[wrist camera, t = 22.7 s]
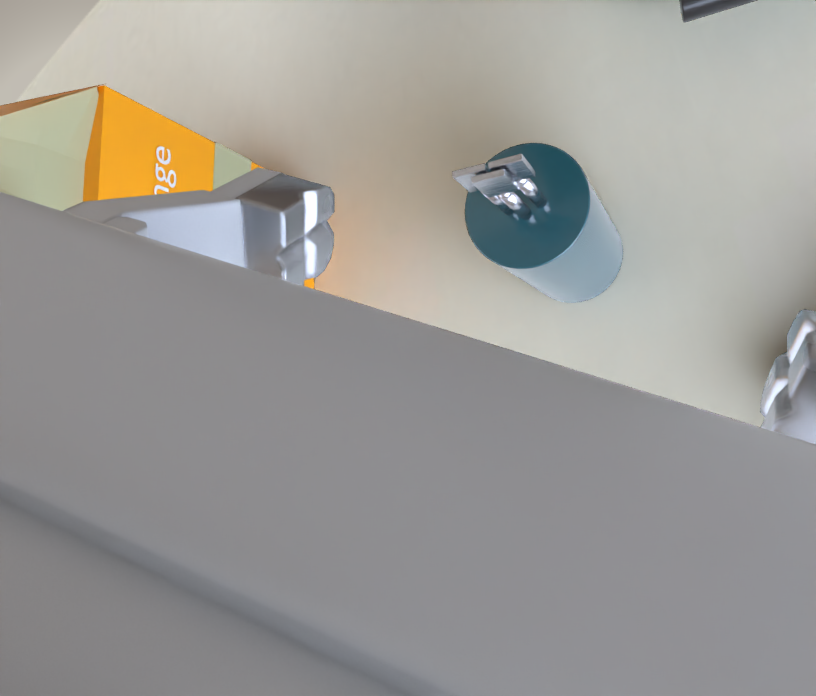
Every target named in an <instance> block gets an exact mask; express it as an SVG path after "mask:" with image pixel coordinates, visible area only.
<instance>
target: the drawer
mask: <svg viewBox="0 0 816 696" xmlns="http://www.w3.org/2000/svg"><path fill="white" fill-rule="evenodd" d="M679 1H680V8H681V14H682V20H683V22H688V21H692V20H695V19H698V18H701V17H705V16H708V15H711V14H714V13H718V12H721V11H724V10H727V9H731V8H734V7H737V6H740V5H744V4H747V3H750V2H753V1H757V0H679Z"/></svg>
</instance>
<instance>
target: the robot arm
mask: <svg viewBox="0 0 816 696" xmlns="http://www.w3.org/2000/svg"><path fill="white" fill-rule="evenodd" d="M333 213H334V193H333V191H332V189H331V188H330V187H328V186H325V185H321V184H318V183H314V182H310V181H307V180H303V179H300V178H296V177H293V176H289V175H285V174H284V173H281V172H277V171H272V170H268V169H264V168H259V167H257V168H255V169H254V170H252V171H250V172H248V173H246V174H244V175H242V176H240V177H238V178H236V179H234V180H232V181H230V182H228V183H226V184H224V185H222V186H220V187H218V188H216V189H214V190H212V191H210V192H209V191H206V190H196V191H186V192H176V193H166V194H156V195H146V196H136V197H125V198H115V199H105V200H95V201H85V202H81V203H79V204H77V205H74V206H72V207H70V208H67V209H65V210H63V211H60V210H57V209H54V208H50V207H47V206H44V205H41V204H38V203H34V202H31V201H28V200H25V199H21V198H18V197H15V196H12V195H9V194H5V193H2V192H0V696H816V312H815V311H811V310H807V309H804V310H801V311H799V313H798V315H797V316H796V318H795V319H794V321H793V323H792V325H791V327H790V329H789V331H788V333H787V352H786V353H784V354H782V355H780V356H778V357H776V359H775V361H774V363H773V366H772V368H771V370H770V373H769V375H768V378H767V380H766V383H765V386H764V389H763V393H762V399H761V407H760V412H761V413H762V415H763V416H764V417H765V419H764V421H763V423H762V425H761V427H758V426H754V425H751V424H748V423H745V422H741V421H738V420H735V419H732V418H729V417H725V416H722V415H719V414H716V413H712V412H709V411H706V410H703V409H699V408H696V407H693V406H690V405H687V404H683V403H680V402H677V401H674V400H670V399H667V398H664V397H661V396H657V395H654V394H651V393H648V392H645V391H641V390H638V389H635V388H632V387H628V386H625V385H622V384H619V383H616V382H612V381H609V380H606V379H603V378H599V377H596V376H593V375H590V374H586V373H583V372H580V371H577V370H574V369H570V368H567V367H564V366H561V365H557V364H554V363H551V362H548V361H544V360H541V359H538V358H535V357H532V356H528V355H525V354H522V353H519V352H515V351H512V350H509V349H506V348H502V347H499V346H496V345H493V344H490V343H486V342H483V341H480V340H477V339H473V338H470V337H467V336H464V335H461V334H457V333H454V332H451V331H448V330H444V329H441V328H438V327H435V326H431V325H428V324H425V323H422V322H419V321H415V320H412V319H409V318H406V317H402V316H399V315H396V314H393V313H389V312H386V311H383V310H380V309H377V308H373V307H370V306H367V305H364V304H360V303H357V302H354V301H351V300H347V299H344V298H341V297H338V296H335V295H331V294H328V293H325V292H322V291H318V290H315V289H312V288H309V287H306V286H304V280H307V279H311V278H316V277H318V276H319V275H320V274H321V273H322V272H323V271H324V270H325V268H326V267H327V265H328V263H329V261H330V259H331V255H332V251H333V246H334V233H333V231H332V229H331V227H330V225H329V223H328V222H327V220H328V219H329V218H330V217H331V215H332V214H333Z"/></svg>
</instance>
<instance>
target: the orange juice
mask: <svg viewBox="0 0 816 696" xmlns="http://www.w3.org/2000/svg"><path fill="white" fill-rule="evenodd" d="M102 85H104V84H102ZM98 86H99V87H98ZM257 167H259V168H263V167H261V166H259V165H257V164H255V163H253V162H251V160H250V159H248V158H246V157H244V156H242V155H240V154H238V153H236V152H234V151H232V150H230V149H229V148H227V147H225V146H223V145H221V144H219V143H217V142H213V141H211V140H209V139H207V138H205V137H203V136H201V135H199V134H197V133H195V132H193V131H191V130H189V129H187V128H186V127H184V126H182V125H180V124H178V123H176V122H174V121H172V120H170V119H168V118H166V117H164V116H162V115H161V114H159V113H157V112H155V111H153V110H151V109H149V108H147V107H145V106H143V105H141V104H139V103H137V102H135V101H134V100H132V99H130V98H128V97H126V96H124V95H122V94H120V93H118V92H116V91H114V90H112V89H110V88H108V87H107V86H105V85H104V86H101V85H97V86H93V87H88V88H83V89H78V90H73V91H68V92H64V93H59V94H54V95H49V96H44V97H39V98H34V99H30V100H25V101H20V102H15V103H10V104H6V105H1V106H0V192H2V193H5V194H9V195H12V196H15V197H18V198H21V199H25V200H28V201H31V202H34V203H38V204H41V205H44V206H47V207H50V208H54V209H57V210H60V211H63V210H65V209H67V208H70V207H72V206H74V205H77V204H79V203H81V202H85V201H95V200H105V199H115V198H125V197H136V196H146V195H156V194H166V193H176V192H186V191H196V190H206V191H209V192H210V191H212V190H214V189H216V188H218V187H220V186H222V185H224V184H226V183H228V182H230V181H232V180H234V179H236V178H238V177H240V176H242V175H244V174H246V173H248V172H250V171H252V170H254V169H255V168H257ZM264 169H265V168H264ZM304 286H306V287H309V288H312V289H314V278H311V279H307V280H304Z"/></svg>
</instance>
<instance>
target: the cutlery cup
mask: <svg viewBox="0 0 816 696" xmlns="http://www.w3.org/2000/svg"><path fill="white" fill-rule="evenodd" d="M452 176H453V178H454V179H455V180H456V181H457V182H458V183H460V184H461V185H462V186H463V187H464V188H465V189H467V190H468V194H467V198H466V203H465V221H466V227H467V230H468V233H469V236H470V238H471V240H472V242H473V243H474V245H475V246H476V248H477V249H478V250H479V251H480V252H481V253H482V254H483V255H484V256H485V257H486V258H488V259H489V260H491V261H492V262H494V263H496V264H497V265H499V266H500V267H502V268H504V269H505V270H507V271H508V272H510V273H511V274H513V275H515V276H516V277H518V278H519V279H521V280H523V281H524V282H526V283H527V284H529V285H531V286H532V287H534V288H535V289H537V290H539V291H540V292H542V293H543V294H545V295H547V296H548V297H550V298H552V299H554V300H557V301H561V302H567V303H576V302H582V301H586V300H589V299H592V298H594V297H596V296H598V295H599V294H601V293H602V292H604V291H605V290H606V289H607V288H608V287H609V286H610V285H611V284H612V282H613V281H614V280H615V278H616V277H617V274H618V272H619V270H620V267H621V264H622V259H623V245H622V240H621V237H620V235H619V233H618V231H617V229H616V227H615V225H614V224H613V222H612V220H611V218H610V217H609V215H608V213H607V212H606V210H605V208H604V206H603V205H602V203H601V201H600V199H599V198H598V196H597V194H596V192H595V191H594V189H593V187H592V186H591V184H590V182H589V180H588V179H587V177H586V175H585V173H584V172H583V170H582V168H581V167H580V165H579V164H578V163H577V162H576V161H575V160H574V159H573V158H572V157H571V156H570V155H569V154H567V153H566V152H565V151H563V150H561V149H559V148H557V147H554V146H551V145H547V144H542V143H525V144H520V145H516V146H513V147H510V148H508V149H506V150H504V151H502V152H500V153H498V154H497V155H495V156H494V157H493V158H491V159H490V160H489V161H488V162H487V163H486V164H484V163H483V164H479V165H476V166H472V167H468V168H464V169H460V170H456V171H453V172H452Z"/></svg>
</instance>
